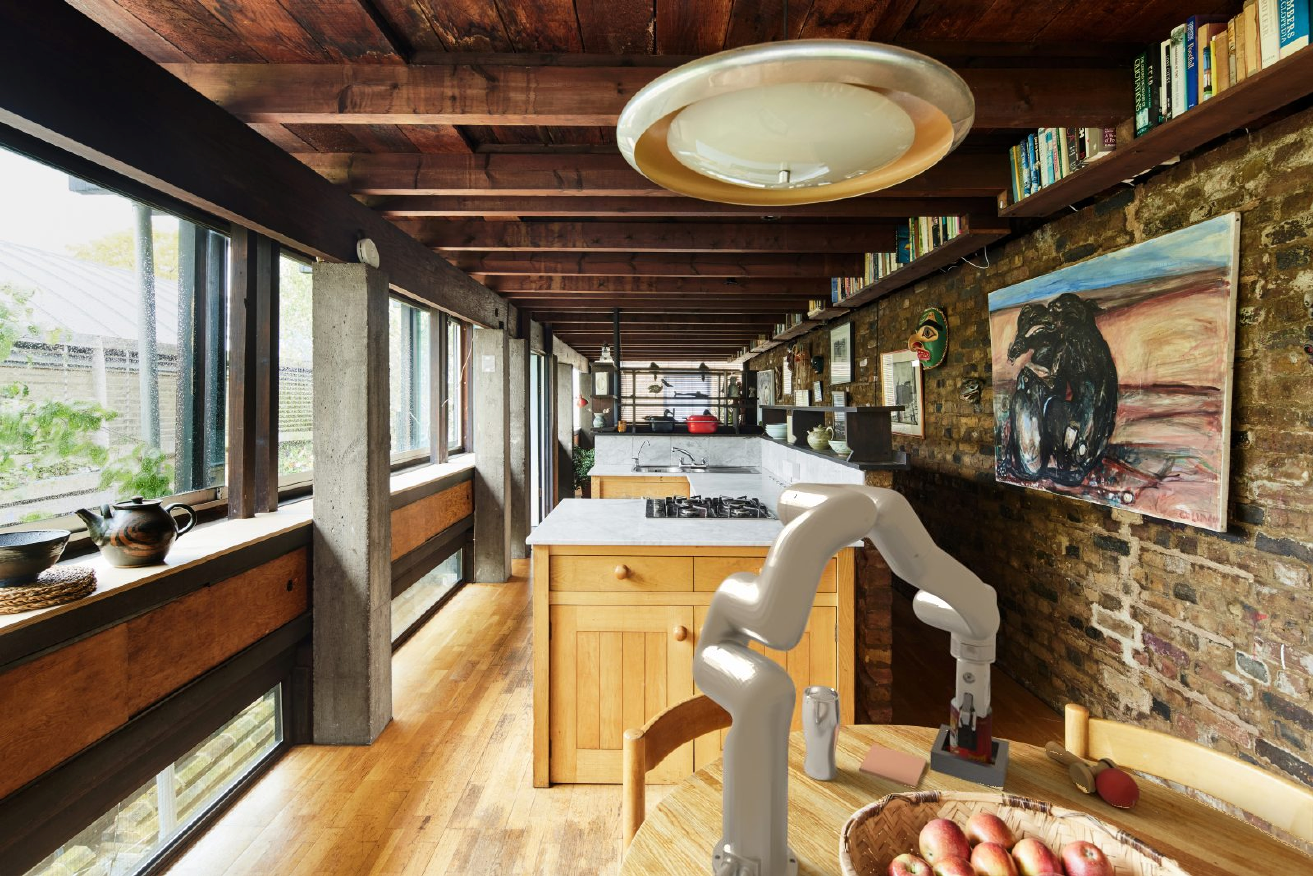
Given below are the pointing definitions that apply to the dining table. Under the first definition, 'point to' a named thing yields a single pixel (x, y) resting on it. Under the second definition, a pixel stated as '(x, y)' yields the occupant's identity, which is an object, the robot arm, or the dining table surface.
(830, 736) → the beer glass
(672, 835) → the dining table surface
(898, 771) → the tile
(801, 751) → the dining table surface
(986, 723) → the soda can
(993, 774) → the collar
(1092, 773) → the kendama
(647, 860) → the dining table surface
